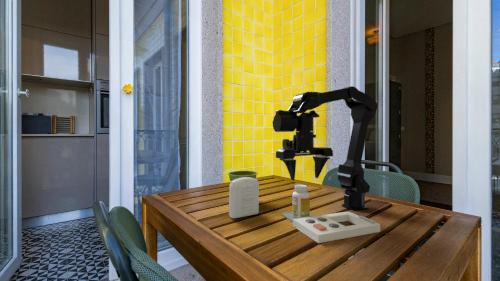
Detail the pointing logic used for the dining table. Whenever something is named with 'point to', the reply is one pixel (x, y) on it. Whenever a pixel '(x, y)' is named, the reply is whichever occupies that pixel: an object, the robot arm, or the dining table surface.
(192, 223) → the dining table surface
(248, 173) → the plant pot
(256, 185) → the white rounded slab
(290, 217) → the slate mat
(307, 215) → the supplement bottle
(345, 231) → the socket board
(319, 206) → the dining table surface
